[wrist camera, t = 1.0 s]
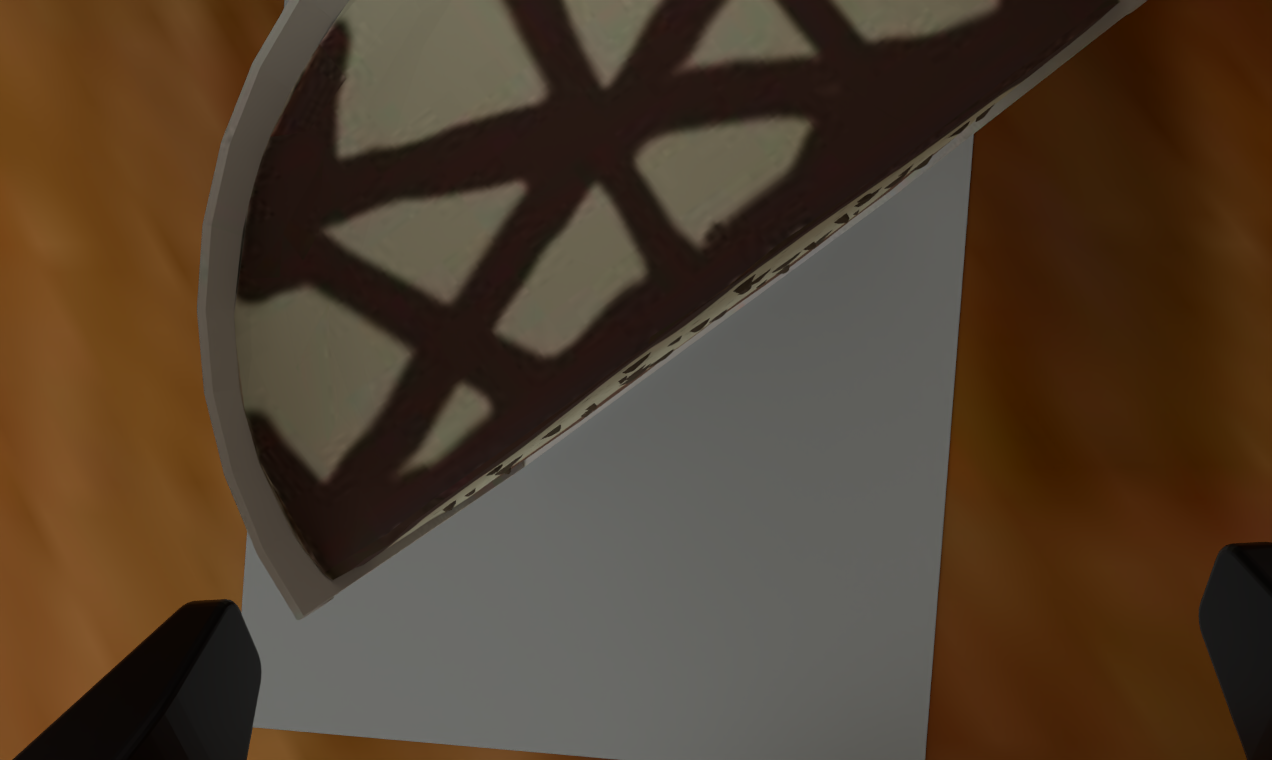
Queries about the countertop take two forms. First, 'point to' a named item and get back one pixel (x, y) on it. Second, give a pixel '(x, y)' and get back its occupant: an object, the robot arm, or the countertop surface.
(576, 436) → the slate mat
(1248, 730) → the robot arm
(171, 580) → the countertop surface
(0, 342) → the countertop surface
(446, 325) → the food container
